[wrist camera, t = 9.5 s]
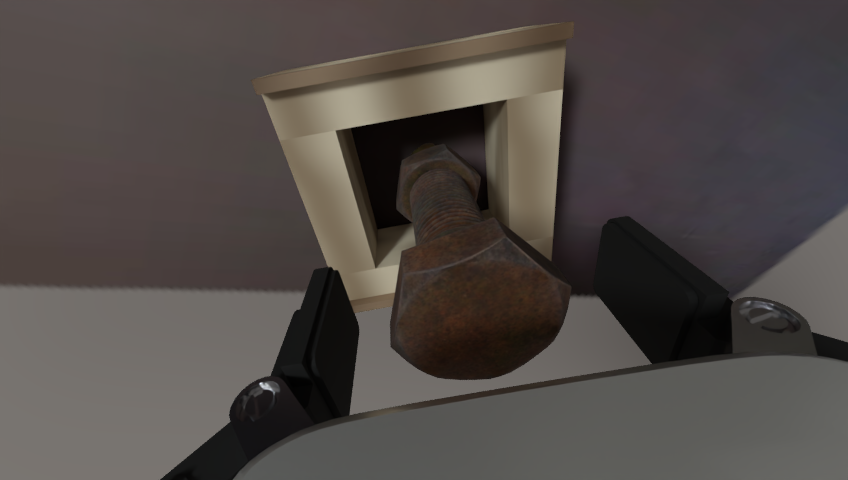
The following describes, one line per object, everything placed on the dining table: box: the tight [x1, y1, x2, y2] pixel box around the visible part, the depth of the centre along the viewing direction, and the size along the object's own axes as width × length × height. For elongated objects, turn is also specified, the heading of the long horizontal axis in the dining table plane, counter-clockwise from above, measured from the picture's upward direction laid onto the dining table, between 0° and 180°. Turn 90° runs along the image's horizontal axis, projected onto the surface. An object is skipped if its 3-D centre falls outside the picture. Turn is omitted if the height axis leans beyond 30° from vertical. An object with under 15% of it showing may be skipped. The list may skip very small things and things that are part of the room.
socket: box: [251, 21, 574, 313], centre depth 20 cm, size 14×14×6 cm
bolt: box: [390, 143, 572, 380], centre depth 16 cm, size 6×5×15 cm
